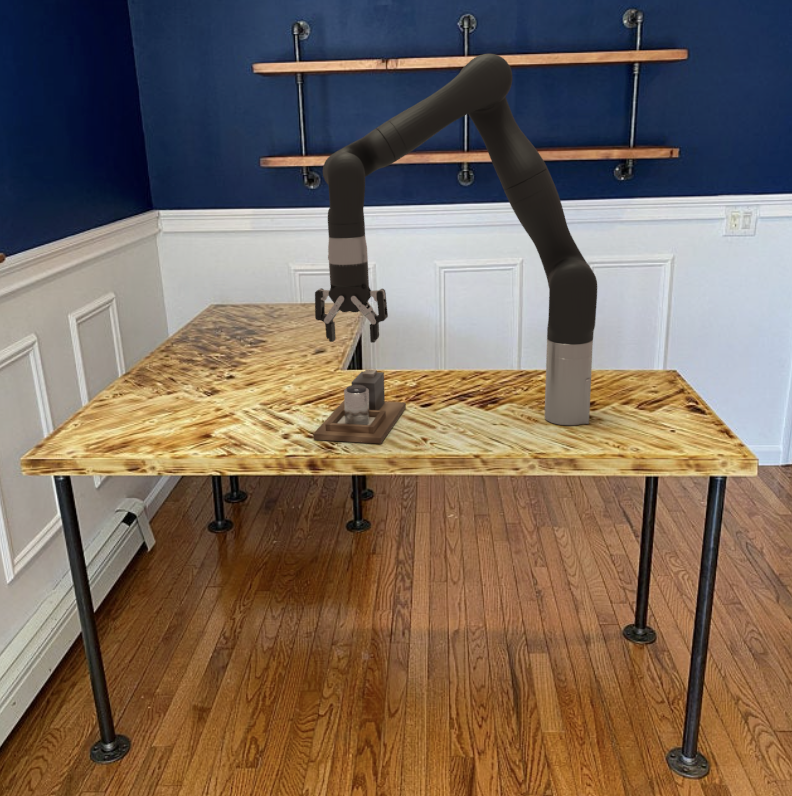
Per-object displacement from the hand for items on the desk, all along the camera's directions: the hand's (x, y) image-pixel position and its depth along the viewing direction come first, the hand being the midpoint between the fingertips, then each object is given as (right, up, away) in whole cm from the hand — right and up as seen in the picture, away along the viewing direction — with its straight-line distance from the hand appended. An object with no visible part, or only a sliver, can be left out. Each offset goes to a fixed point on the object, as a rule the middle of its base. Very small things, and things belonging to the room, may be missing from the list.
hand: (352, 341), depth 165 cm
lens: (+1, -16, +6) cm, 17 cm away
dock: (+1, -16, +10) cm, 19 cm away
